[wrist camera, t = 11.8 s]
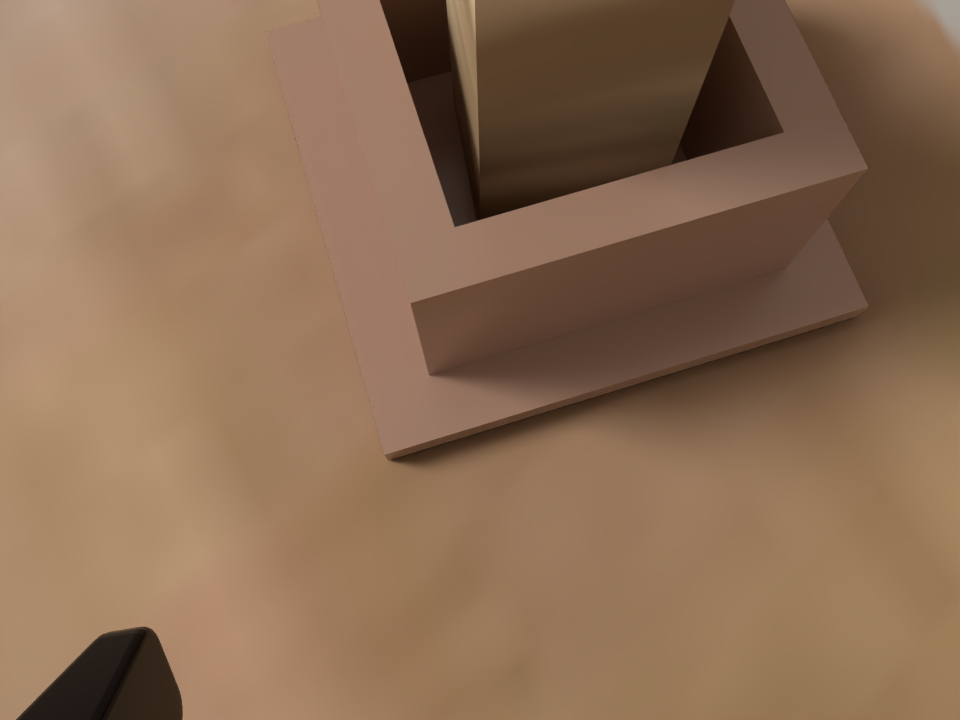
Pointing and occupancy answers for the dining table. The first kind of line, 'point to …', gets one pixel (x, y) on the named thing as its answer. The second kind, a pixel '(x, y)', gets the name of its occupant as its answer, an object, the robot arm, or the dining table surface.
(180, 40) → the dining table surface
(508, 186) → the wooden block
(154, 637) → the robot arm
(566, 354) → the holder cup
